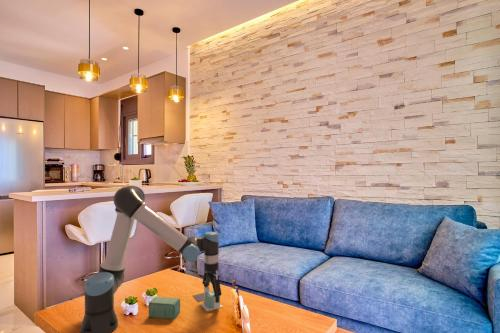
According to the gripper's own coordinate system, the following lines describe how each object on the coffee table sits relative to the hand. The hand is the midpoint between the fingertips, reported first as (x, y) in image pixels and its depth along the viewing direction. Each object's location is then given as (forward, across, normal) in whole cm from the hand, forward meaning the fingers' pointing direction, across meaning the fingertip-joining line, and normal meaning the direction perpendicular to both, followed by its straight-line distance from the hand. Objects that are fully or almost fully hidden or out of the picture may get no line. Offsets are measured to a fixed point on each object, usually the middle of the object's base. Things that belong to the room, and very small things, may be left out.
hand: (211, 303), depth 153 cm
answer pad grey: (+1, 0, 0) cm, 1 cm away
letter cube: (+1, 0, 0) cm, 1 cm away
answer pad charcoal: (+1, +12, 0) cm, 12 cm away
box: (+2, +4, +23) cm, 24 cm away
